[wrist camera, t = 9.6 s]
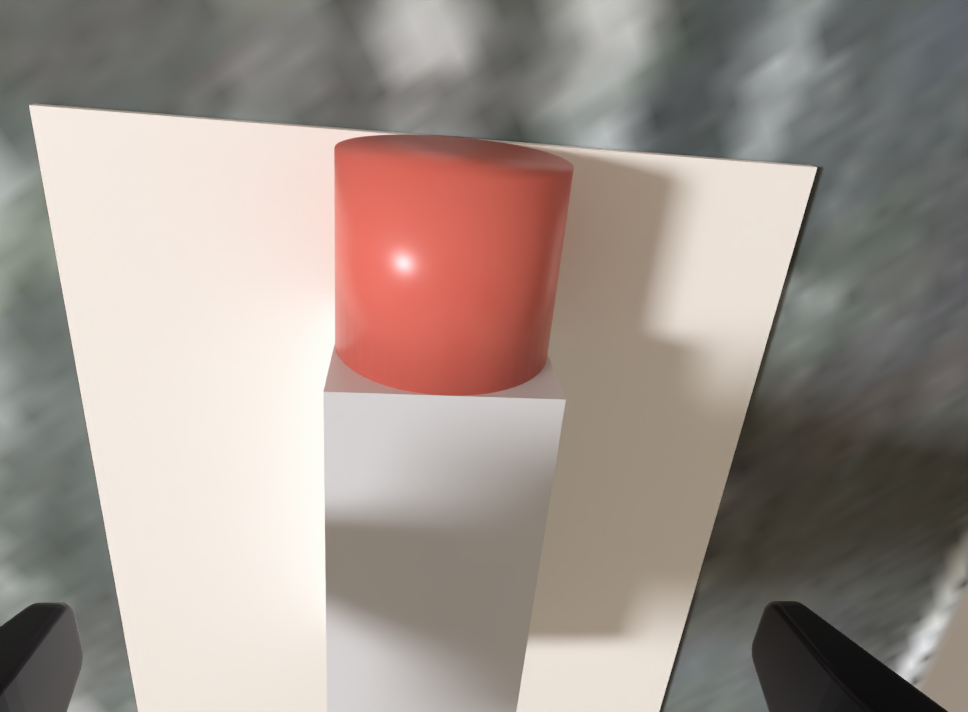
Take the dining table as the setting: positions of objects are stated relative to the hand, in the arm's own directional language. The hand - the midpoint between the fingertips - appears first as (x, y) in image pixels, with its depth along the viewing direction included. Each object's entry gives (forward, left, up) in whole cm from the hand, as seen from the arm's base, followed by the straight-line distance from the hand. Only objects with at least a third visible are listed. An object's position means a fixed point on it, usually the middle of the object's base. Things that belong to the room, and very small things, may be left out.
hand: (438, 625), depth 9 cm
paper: (-4, 0, -6) cm, 7 cm away
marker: (0, 0, -5) cm, 5 cm away
